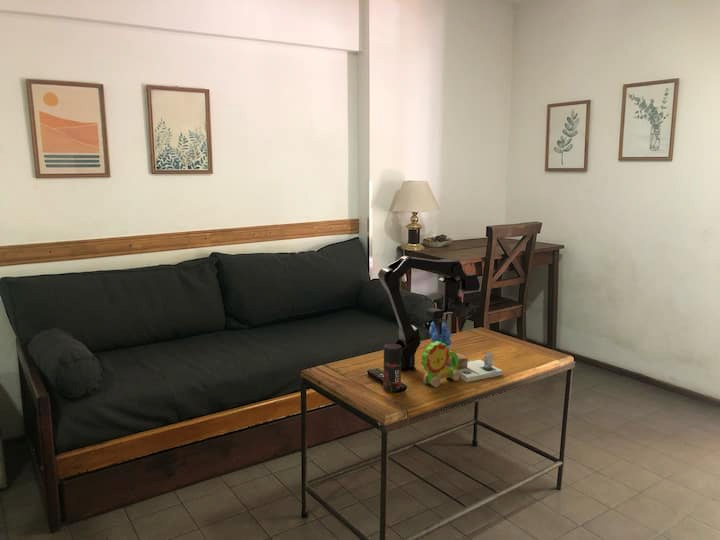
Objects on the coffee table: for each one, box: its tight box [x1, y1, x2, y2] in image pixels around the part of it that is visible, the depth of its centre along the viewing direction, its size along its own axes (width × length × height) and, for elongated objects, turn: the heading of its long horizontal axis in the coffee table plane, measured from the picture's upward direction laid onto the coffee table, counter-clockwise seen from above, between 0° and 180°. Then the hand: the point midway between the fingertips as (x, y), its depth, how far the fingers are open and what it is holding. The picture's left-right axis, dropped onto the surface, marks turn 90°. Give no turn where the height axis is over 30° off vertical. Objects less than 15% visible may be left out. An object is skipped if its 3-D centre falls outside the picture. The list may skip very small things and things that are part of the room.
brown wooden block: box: [446, 352, 469, 369], centre depth 214 cm, size 6×6×4 cm
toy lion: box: [421, 341, 461, 388], centre depth 202 cm, size 16×5×15 cm, turn 126°
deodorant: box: [382, 343, 402, 392], centre depth 197 cm, size 6×6×15 cm
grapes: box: [428, 321, 452, 348], centre depth 238 cm, size 12×7×12 cm, turn 40°
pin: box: [483, 352, 494, 371], centre depth 213 cm, size 3×3×7 cm
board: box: [447, 359, 504, 383], centre depth 213 cm, size 16×13×2 cm
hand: (450, 333), depth 221 cm, fingers open, 9 cm apart
